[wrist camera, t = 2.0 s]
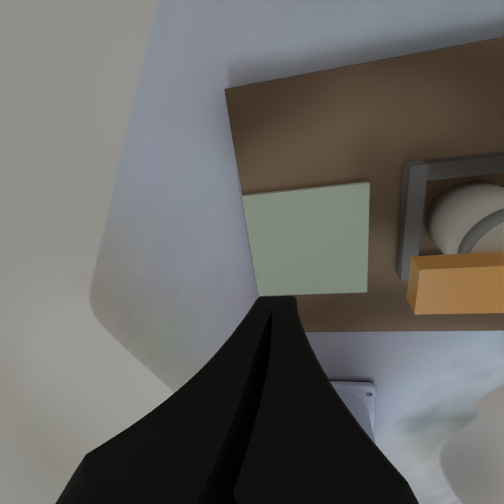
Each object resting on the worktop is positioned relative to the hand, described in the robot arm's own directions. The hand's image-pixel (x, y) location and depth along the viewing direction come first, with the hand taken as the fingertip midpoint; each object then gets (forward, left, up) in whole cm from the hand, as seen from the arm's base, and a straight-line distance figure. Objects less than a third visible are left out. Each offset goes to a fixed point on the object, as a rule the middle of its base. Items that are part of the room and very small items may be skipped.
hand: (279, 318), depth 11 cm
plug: (0, -10, -8) cm, 12 cm away
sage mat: (-1, -1, -8) cm, 8 cm away
